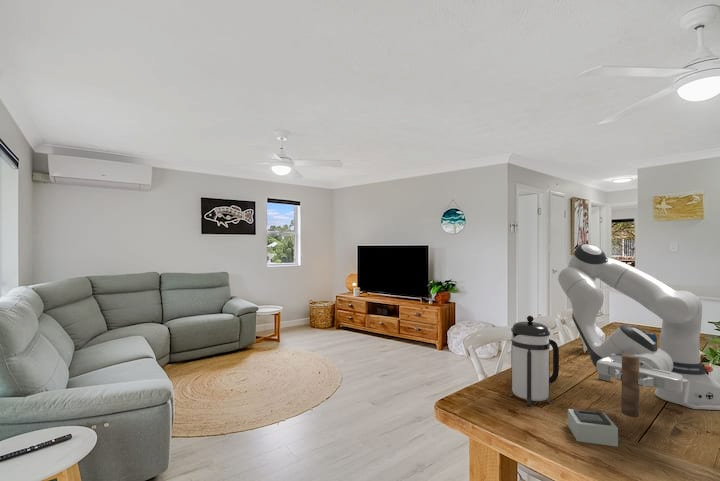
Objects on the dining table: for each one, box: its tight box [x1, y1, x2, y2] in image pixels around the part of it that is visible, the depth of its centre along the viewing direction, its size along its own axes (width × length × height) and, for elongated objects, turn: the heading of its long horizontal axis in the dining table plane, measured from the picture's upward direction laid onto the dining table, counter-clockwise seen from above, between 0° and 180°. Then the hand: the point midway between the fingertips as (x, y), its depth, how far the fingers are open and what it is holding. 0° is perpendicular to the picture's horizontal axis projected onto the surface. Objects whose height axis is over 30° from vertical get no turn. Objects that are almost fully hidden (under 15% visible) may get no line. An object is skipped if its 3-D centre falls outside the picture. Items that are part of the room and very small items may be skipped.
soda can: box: [644, 331, 658, 346], centre depth 191 cm, size 7×7×12 cm
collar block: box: [567, 408, 619, 448], centre depth 108 cm, size 10×10×6 cm
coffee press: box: [507, 315, 560, 408], centre depth 135 cm, size 17×16×30 cm
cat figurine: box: [579, 323, 606, 351], centre depth 197 cm, size 25×10×17 cm, turn 135°
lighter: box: [598, 373, 612, 382], centre depth 154 cm, size 7×2×8 cm, turn 56°
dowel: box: [621, 354, 640, 418], centre depth 104 cm, size 4×4×16 cm
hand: (629, 380), depth 103 cm, fingers closed on dowel, 4 cm apart
